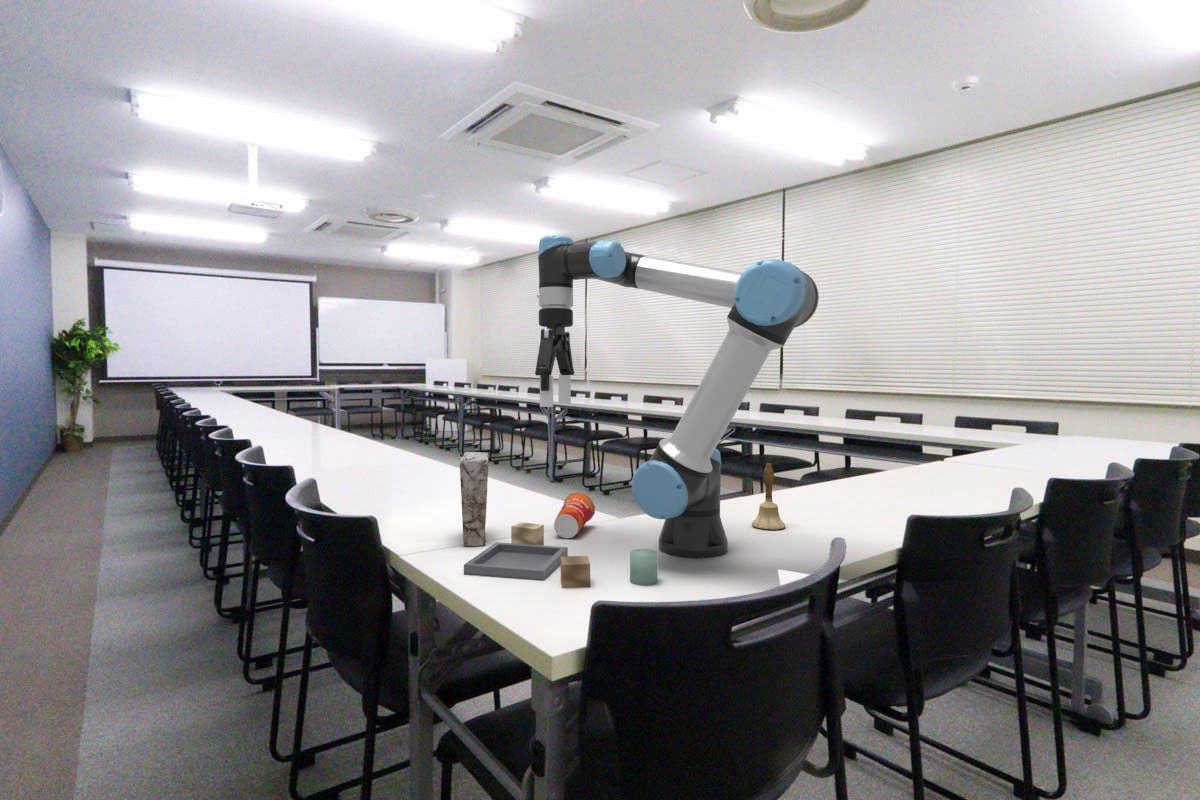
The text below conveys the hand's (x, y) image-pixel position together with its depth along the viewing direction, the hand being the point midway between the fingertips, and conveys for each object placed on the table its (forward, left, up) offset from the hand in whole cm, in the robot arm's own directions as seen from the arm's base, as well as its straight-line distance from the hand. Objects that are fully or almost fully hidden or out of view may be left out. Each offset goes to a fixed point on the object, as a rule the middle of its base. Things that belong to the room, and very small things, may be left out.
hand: (555, 405), depth 139 cm
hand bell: (-47, -31, -32) cm, 65 cm away
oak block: (+6, +2, -32) cm, 32 cm away
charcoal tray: (+3, +16, -32) cm, 36 cm away
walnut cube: (-11, +24, -32) cm, 41 cm away
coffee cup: (-1, -6, -29) cm, 29 cm away
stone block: (+20, -1, -32) cm, 38 cm away
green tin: (-23, +20, -32) cm, 44 cm away
